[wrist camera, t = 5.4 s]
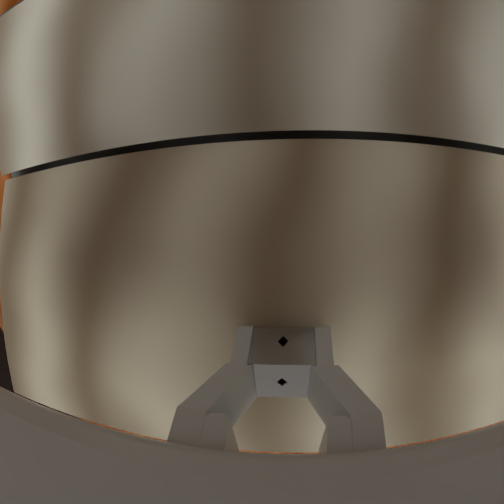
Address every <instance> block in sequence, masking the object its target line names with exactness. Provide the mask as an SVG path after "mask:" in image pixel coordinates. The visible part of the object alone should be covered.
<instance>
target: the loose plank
mask: <svg viewBox="0 0 504 504" xmlns="http://www.w3.org/2000/svg"><path fill="white" fill-rule="evenodd" d="M0 293H1V308H2V320H3V329H4V337H5V345H6V351H7V358H8V364H9V369H10V374H11V379H12V384H13V389H14V392H15V393H18V394H20V395H23V396H24V397H27V398H29V399H31V400H34V401H36V402H39V403H41V404H44V405H46V406H49V407H51V408H54V409H57V410H59V411H62V412H65V413H68V414H71V415H74V416H76V417H79V418H82V419H85V420H89V421H92V422H95V423H98V424H102V425H105V426H109V427H112V428H116V429H120V430H124V431H128V432H132V433H136V434H140V435H145V436H149V437H154V438H159V439H164V440H167V439H168V435H169V432H170V429H171V425H172V422H173V418H174V415H175V412H176V408H177V406H179V405H180V404H181V403H182V402H183V401H184V400H185V399H187V398H188V397H189V396H190V395H191V394H192V393H193V392H195V391H196V390H197V389H198V388H199V387H200V386H201V385H202V384H204V383H205V382H206V381H207V380H208V379H209V378H210V377H211V376H212V375H213V374H215V373H216V372H217V371H218V370H219V369H220V368H221V367H222V366H223V365H224V364H230V360H231V355H232V350H233V345H234V340H235V335H236V330H237V328H238V326H239V325H244V326H272V327H294V326H330V328H331V338H332V348H333V359H334V365H339V366H340V367H341V368H342V369H343V370H344V372H345V373H346V374H347V375H348V376H349V377H350V378H351V379H352V380H353V381H354V382H355V384H356V385H357V386H358V387H359V388H360V389H361V390H362V391H363V392H364V393H365V394H366V396H367V397H368V398H369V399H370V400H371V401H372V402H373V403H374V404H375V405H376V406H377V407H378V409H379V410H380V411H381V412H382V417H383V424H384V432H385V440H386V447H390V446H398V445H404V444H410V443H416V442H422V441H427V440H432V439H437V438H442V437H446V436H450V435H455V434H459V433H463V432H466V431H470V430H474V429H477V428H481V427H484V426H487V425H491V424H494V423H497V422H500V421H503V420H504V155H499V154H494V153H488V152H482V151H475V150H469V149H462V148H454V147H446V146H438V145H428V144H418V143H407V142H394V141H377V140H355V139H273V140H250V141H234V142H220V143H208V144H197V145H187V146H178V147H169V148H161V149H154V150H147V151H140V152H133V153H127V154H120V155H114V156H109V157H103V158H98V159H92V160H87V161H82V162H77V163H73V164H68V165H63V166H59V167H54V168H50V169H46V170H42V171H38V172H34V173H30V174H26V175H22V176H19V177H15V178H11V179H8V180H5V188H4V196H3V205H2V217H1V232H0ZM307 398H308V397H257V398H256V399H255V401H254V402H253V403H252V404H251V406H250V407H249V408H248V409H247V410H246V412H245V413H244V414H243V415H242V416H241V418H240V419H239V420H238V421H237V422H236V424H235V425H234V426H233V427H232V429H233V432H234V435H235V438H236V441H237V444H238V448H239V449H238V450H246V451H262V452H296V453H303V452H319V447H320V444H321V440H322V437H323V434H324V430H325V427H326V426H325V424H324V423H323V421H322V420H321V418H320V417H319V415H318V414H317V412H316V411H315V409H314V408H313V406H312V405H311V403H310V402H309V400H308V399H307Z"/></svg>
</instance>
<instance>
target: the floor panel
mask: <svg viewBox="0 0 504 504" xmlns="http://www.w3.org/2000/svg"><path fill="white" fill-rule="evenodd" d="M273 139H355V140H377V141H394V142H407V143H418V144H428V145H438V146H446V147H454V148H462V149H469V150H475V151H482V152H488V153H494V154H499V155H504V0H22V1H20V2H19V3H17V4H16V5H14V6H13V7H11V8H10V9H9V10H7V11H6V12H4V13H3V14H2V15H0V170H1V174H2V175H5V174H9V173H11V176H12V178H15V177H19V176H22V175H26V174H30V173H34V172H38V171H42V170H46V169H50V168H54V167H59V166H63V165H68V164H73V163H77V162H82V161H87V160H92V159H98V158H103V157H109V156H114V155H120V154H127V153H133V152H140V151H147V150H154V149H161V148H169V147H178V146H187V145H197V144H208V143H220V142H234V141H250V140H273Z"/></svg>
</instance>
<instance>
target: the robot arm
mask: <svg viewBox="0 0 504 504" xmlns="http://www.w3.org/2000/svg"><path fill="white" fill-rule="evenodd" d="M257 397H308V398H307V399H308V400H309V402H310V403H311V405H312V406H313V408H314V409H315V411H316V412H317V414H318V415H319V417H320V418H321V420H322V421H323V423H324V424H325V426H326V427H325V430H324V434H323V437H322V440H321V444H320V447H319V454H268V453H250V452H238V449H239V448H238V444H237V441H236V438H235V435H234V432H233V429H232V427H233V426H234V425H235V424H236V422H237V421H238V420H239V419H240V418H241V416H242V415H243V414H244V413H245V412H246V410H247V409H248V408H249V407H250V406H251V404H252V403H253V402H254V401H255V399H256V398H257ZM0 504H504V422H501V423H498V424H495V425H492V426H489V427H485V428H482V429H479V430H475V431H472V432H468V433H464V434H460V435H456V436H452V437H448V438H444V439H439V440H435V441H430V442H425V443H419V444H414V445H408V446H401V447H395V448H386V440H385V432H384V424H383V417H382V412H381V411H380V410H379V409H378V407H377V406H376V405H375V404H374V403H373V402H372V401H371V400H370V399H369V398H368V397H367V396H366V394H365V393H364V392H363V391H362V390H361V389H360V388H359V387H358V386H357V385H356V384H355V382H354V381H353V380H352V379H351V378H350V377H349V376H348V375H347V374H346V373H345V372H344V370H343V369H342V368H341V367H340V366H339V365H334V359H333V348H332V338H331V328H330V326H294V327H272V326H244V325H239V326H238V328H237V330H236V335H235V340H234V345H233V350H232V355H231V360H230V364H224V365H223V366H222V367H221V368H220V369H219V370H218V371H217V372H216V373H215V374H213V375H212V376H211V377H210V378H209V379H208V380H207V381H206V382H205V383H204V384H202V385H201V386H200V387H199V388H198V389H197V390H196V391H195V392H193V393H192V394H191V395H190V396H189V397H188V398H187V399H185V400H184V401H183V402H182V403H181V404H180V405H179V406H177V408H176V412H175V415H174V418H173V422H172V425H171V429H170V432H169V435H168V439H167V442H165V441H160V440H155V439H150V438H146V437H141V436H137V435H133V434H129V433H125V432H121V431H117V430H113V429H110V428H106V427H103V426H99V425H96V424H93V423H90V422H86V421H83V420H80V419H77V418H74V417H71V416H68V415H66V414H63V413H60V412H57V411H55V410H52V409H50V408H47V407H45V406H42V405H40V404H37V403H35V402H32V401H30V400H28V399H25V398H23V397H21V396H19V395H16V394H14V393H12V392H10V391H8V390H6V389H3V388H2V387H0Z"/></svg>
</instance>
